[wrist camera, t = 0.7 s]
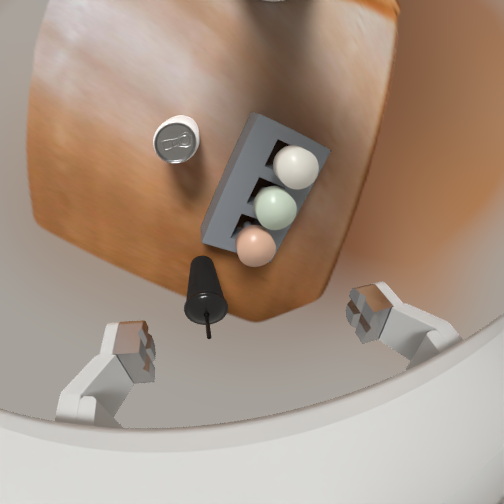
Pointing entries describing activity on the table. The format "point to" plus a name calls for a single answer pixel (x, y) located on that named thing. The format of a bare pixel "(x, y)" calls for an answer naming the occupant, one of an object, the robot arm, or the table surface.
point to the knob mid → (274, 207)
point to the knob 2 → (295, 167)
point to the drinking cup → (204, 294)
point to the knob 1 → (254, 245)
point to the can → (176, 139)
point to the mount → (253, 180)
